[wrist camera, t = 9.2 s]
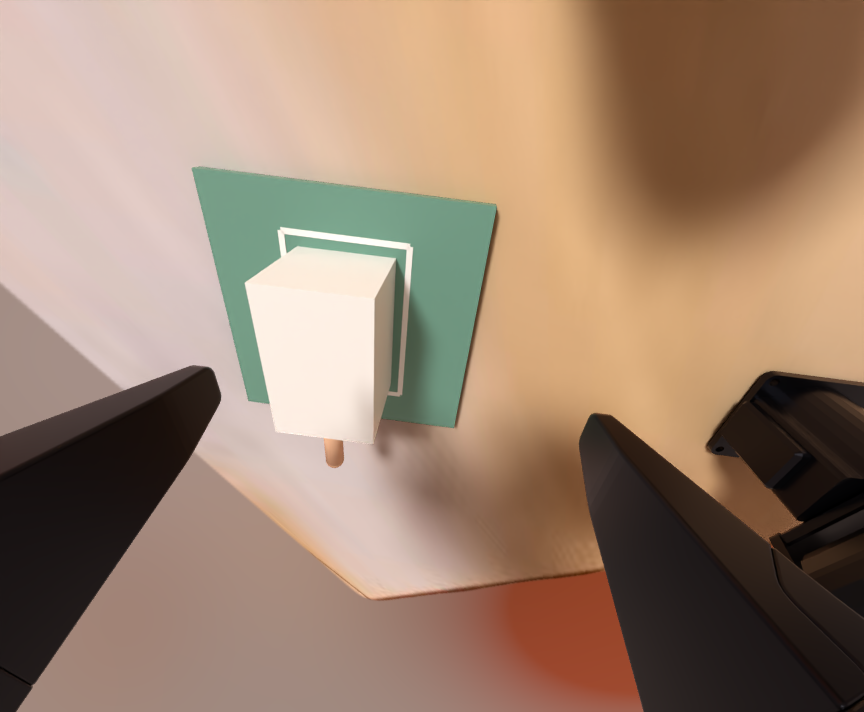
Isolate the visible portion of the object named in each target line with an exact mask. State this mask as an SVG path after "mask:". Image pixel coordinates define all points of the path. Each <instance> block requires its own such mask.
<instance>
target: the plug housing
mask: <svg viewBox="0 0 864 712" xmlns="http://www.w3.org/2000/svg"><path fill="white" fill-rule="evenodd" d="M395 272H396V258H390V257H381V256H373V255H365V254H357V253H349V252H341V251H333V250H324V249H316V248H308V247H300V246H297V247H295V248H294V249H292V250H291V251H290V252H288V253H287V254H285V255H284V256H282V257H281V258H280V259H278V260H277V261H275V262H274V263H272V264H271V265H269V266H268V267H267V268H265V269H264V270H262V271H261V272H259V273H258V274H256V275H255V276H254V277H252V278H251V279H249V280H248V281H246V282H245V287H246V292H247V296H248V301H249V306H250V311H251V316H252V320H253V325H254V330H255V335H256V340H257V344H258V349H259V354H260V359H261V364H262V368H263V373H264V378H265V383H266V388H267V392H268V397H269V402H270V407H271V411H272V416H273V421H274V426H275V431H276V432H281V433H288V434H296V435H304V436H312V437H320V438H324V445H325V454H326V462H327V464H328V466H330V467H332V468H337V467H339V466H341V465H342V463H343V461H344V452H343V441H351V442H359V443H366V444H374V440H375V437H376V433H377V430H378V426H379V423H380V420H381V416H382V413H383V409H384V406H385V402H386V399H387V395H388V392H389V388H390V385H391V367H392V343H393V319H394V296H395Z"/></svg>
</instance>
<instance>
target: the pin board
mask: <svg viewBox="0 0 864 712" xmlns="http://www.w3.org/2000/svg"><path fill="white" fill-rule="evenodd" d="M192 171H193V175H194V179H195V184H196V188H197V192H198V196H199V200H200V204H201V208H202V212H203V216H204V220H205V225H206V229H207V233H208V237H209V241H210V245H211V249H212V253H213V257H214V261H215V265H216V270H217V274H218V278H219V282H220V286H221V290H222V294H223V298H224V302H225V306H226V311H227V315H228V319H229V323H230V327H231V331H232V335H233V339H234V343H235V347H236V352H237V356H238V360H239V364H240V368H241V372H242V376H243V380H244V384H245V388H246V392H247V397H248V401H253V402H260V403H268V404H270V402H269V397H268V392H267V388H266V383H265V378H264V373H263V368H262V364H261V359H260V354H259V349H258V344H257V340H256V335H255V330H254V325H253V320H252V316H251V311H250V306H249V301H248V296H247V292H246V287H245V282H246V281H248V280H249V279H251V278H252V277H254V276H255V275H256V274H258V273H259V272H261V271H262V270H264V269H265V268H267V267H268V266H269V265H271V264H272V263H274V262H275V261H277V260H278V259H280V258H281V257H282V256H284V255H285V254H287V253H288V252H290V251H291V250H292V249H294V248H295V247H297V246H300V247H308V248H316V249H324V250H333V251H341V252H349V253H357V254H365V255H373V256H381V257H390V258H396V272H395V296H394V319H393V343H392V367H391V385H390V388H389V392H388V395H387V399H386V402H385V406H384V409H383V413H382V416H381V419H389V420H396V421H404V422H411V423H419V424H427V425H434V426H442V427H449V428H454V425H455V420H456V415H457V410H458V404H459V399H460V394H461V389H462V384H463V379H464V373H465V368H466V363H467V358H468V353H469V348H470V343H471V337H472V332H473V327H474V322H475V317H476V312H477V306H478V301H479V296H480V291H481V286H482V281H483V276H484V270H485V265H486V260H487V255H488V250H489V245H490V239H491V234H492V229H493V224H494V219H495V214H496V209H497V206H496V204H490V203H482V202H474V201H466V200H459V199H451V198H443V197H435V196H427V195H419V194H411V193H404V192H396V191H388V190H380V189H372V188H364V187H356V186H349V185H341V184H333V183H325V182H317V181H309V180H301V179H294V178H286V177H278V176H270V175H262V174H254V173H246V172H239V171H231V170H223V169H215V168H207V167H193V168H192Z"/></svg>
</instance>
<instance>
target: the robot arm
mask: <svg viewBox="0 0 864 712" xmlns="http://www.w3.org/2000/svg"><path fill="white" fill-rule="evenodd" d="M771 380H772V381H771ZM220 401H221V392H220V389H219V386H218V383H217V379H216V376H215V373H214V371H213V370H212V369H211V368H209V367H205V366H196V365H193V366H189V367H186V368H183V369H181V370H178V371H175V372H173V373H170V374H167V375H164V376H162V377H159V378H156V379H154V380H151V381H148V382H146V383H143V384H140V385H138V386H135V387H132V388H129V389H127V390H124V391H121V392H119V393H116V394H114V395H111V396H108V397H105V398H103V399H100V400H97V401H94V402H92V403H89V404H86V405H84V406H81V407H78V408H76V409H73V410H70V411H68V412H65V413H62V414H60V415H57V416H54V417H51V418H49V419H46V420H43V421H41V422H38V423H35V424H33V425H30V426H27V427H24V428H22V429H19V430H16V431H14V432H11V433H8V434H6V435H3V436H0V712H16V711H17V710H18V708H19V707H20V705H21V704H22V702H23V701H24V699H25V698H26V697H27V695H28V694H29V692H30V691H31V689H32V687H33V686H32V685H33V684H35V683H36V682H37V680H38V678H39V677H40V676H41V674H42V673H43V671H44V670H45V668H46V667H47V665H48V664H49V663H50V661H51V660H52V658H53V657H54V655H55V654H56V652H57V651H58V649H59V648H60V647H61V645H62V644H63V642H64V641H65V639H66V638H67V636H68V635H69V633H70V632H71V631H72V629H73V627H74V626H75V625H76V623H77V622H78V620H79V619H80V617H81V616H82V615H83V613H84V612H85V610H86V609H87V607H88V606H89V604H90V603H91V601H92V600H93V599H94V597H95V596H96V594H97V593H98V591H99V590H100V588H101V587H102V585H103V584H104V583H105V581H106V580H107V578H108V577H109V575H110V574H111V572H112V571H113V569H114V568H115V567H116V565H117V563H118V562H119V561H120V559H121V558H122V556H123V555H124V553H125V552H126V551H127V549H128V547H129V546H130V545H131V543H132V542H133V540H134V539H135V537H136V536H137V534H138V533H139V531H140V530H141V529H142V527H143V526H144V524H145V523H146V521H147V520H148V518H149V517H150V516H151V514H152V513H153V511H154V510H155V508H156V507H157V505H158V504H159V502H160V501H161V499H162V498H163V497H164V495H165V494H166V492H167V491H168V489H169V488H170V486H171V485H172V484H173V482H174V481H175V479H176V478H177V476H178V475H179V473H180V472H181V470H182V469H183V467H184V466H185V464H186V463H187V461H188V460H189V458H190V457H191V455H192V453H193V451H194V450H195V448H196V446H197V444H198V443H199V441H200V439H201V437H202V435H203V433H204V432H205V430H206V428H207V426H208V424H209V422H210V421H211V419H212V417H213V415H214V413H215V411H216V410H217V408H218V406H219V404H220ZM708 448H709V450H710V451H711V452H712V453H713V454H717V455H724V456H732V457H740V458H741V459H742V460H743V461H744V462H745V464H746V465H747V466H748V467H749V468H750V469H751V471H752V472H753V473H754V474H755V475H756V477H757V478H758V479H759V480H760V481H761V483H762V484H763V485H764V486H765V487H766V488H769V489H771V490H772V491H773V493H774V494H775V495H776V496H777V497H778V498H779V500H780V501H781V502H782V503H783V504H784V505H785V507H786V508H787V509H788V510H789V511H790V512H791V514H792V515H793V516H794V517H795V518H796V520H798V521H802V522H803V523H801V524H799V525H798V526H796V527H794V528H792V529H790V530H788V531H786V532H784V533H782V534H781V533H777V534H775V535H774V536H772V537H770V538H769V539H770V541H771V543H772V545H773V547H774V548H771V546H770V544H769V543H768V542H767V541H765V540H764V539H763V538H762V537H760V536H759V535H758V534H757V533H756V532H754V531H753V530H752V529H751V528H749V527H748V526H747V525H746V524H744V523H743V522H742V521H741V520H740V519H738V518H737V517H736V516H735V515H733V514H732V513H731V512H730V511H729V510H727V509H726V508H725V507H724V506H722V505H721V504H720V503H719V502H717V501H716V500H715V499H714V498H713V497H711V496H710V495H709V494H708V493H706V492H705V491H704V490H703V489H701V488H700V487H699V486H698V485H697V484H695V483H694V482H693V481H692V480H690V479H689V478H688V477H687V476H685V475H684V474H683V473H682V472H681V471H679V470H678V469H677V468H676V467H674V466H673V465H672V464H671V463H670V462H668V461H667V460H666V459H665V458H663V457H662V456H661V455H660V454H658V453H657V452H656V451H655V450H654V449H652V448H651V447H650V446H649V445H647V444H646V443H645V442H644V441H642V440H641V439H640V438H639V437H638V436H636V435H635V434H634V433H633V432H631V431H630V430H629V429H628V428H627V427H625V426H624V425H623V424H622V423H620V422H619V421H618V420H617V419H615V418H614V417H613V416H611V415H608V414H600V413H593V414H591V415H590V417H589V418H588V421H587V423H586V425H585V427H584V430H583V432H582V434H581V436H580V440H579V450H580V457H581V463H582V470H583V476H584V483H585V489H586V496H587V502H588V507H589V512H590V516H591V520H592V524H593V527H594V531H595V535H596V538H597V542H598V546H599V549H600V553H601V557H602V560H603V564H604V568H605V571H606V575H607V579H608V582H609V586H610V589H611V593H612V597H613V600H614V604H615V608H616V612H617V615H618V619H619V622H620V626H621V630H622V634H623V638H624V641H625V645H626V649H627V652H628V656H629V660H630V663H631V667H632V670H633V674H634V678H635V682H636V685H637V689H638V692H639V696H640V700H641V704H642V707H643V711H644V712H864V383H862V382H854V381H846V380H839V379H831V378H823V377H815V376H808V375H800V374H792V373H785V372H777V371H770V372H767V373H765V374H763V375H762V376H761V377H760V378H759V380H758V381H757V382H756V383H755V385H754V386H753V387H752V389H751V390H750V391H749V392H748V394H747V395H746V396H745V397H744V399H743V400H742V401H741V403H740V404H739V405H738V406H737V408H736V409H735V410H734V412H733V413H732V414H731V415H730V417H729V418H728V419H727V421H726V422H725V423H724V424H723V426H722V427H721V428H720V429H719V431H718V432H717V433H716V435H715V436H714V437H713V438H712V440H711V441H710V442H709V444H708Z"/></svg>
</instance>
